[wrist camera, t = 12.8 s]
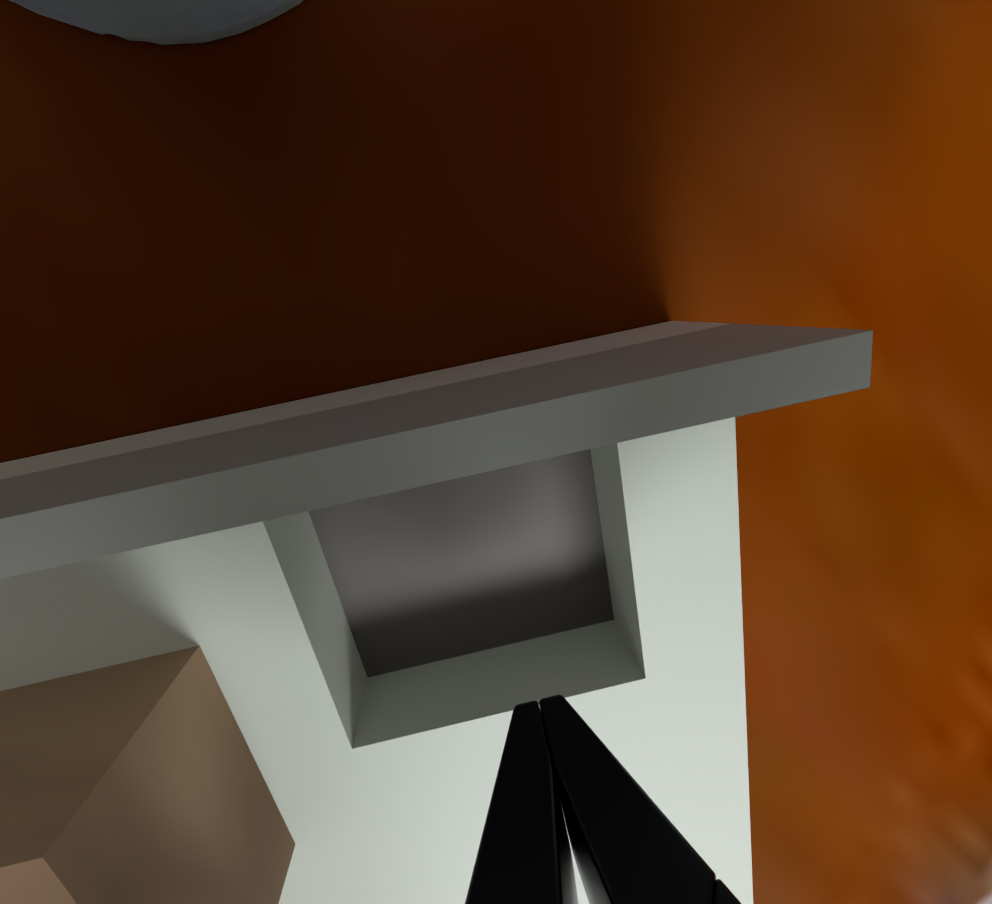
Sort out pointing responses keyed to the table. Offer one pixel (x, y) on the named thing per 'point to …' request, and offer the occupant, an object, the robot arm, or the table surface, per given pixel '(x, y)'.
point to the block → (134, 791)
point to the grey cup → (162, 17)
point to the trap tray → (434, 584)
